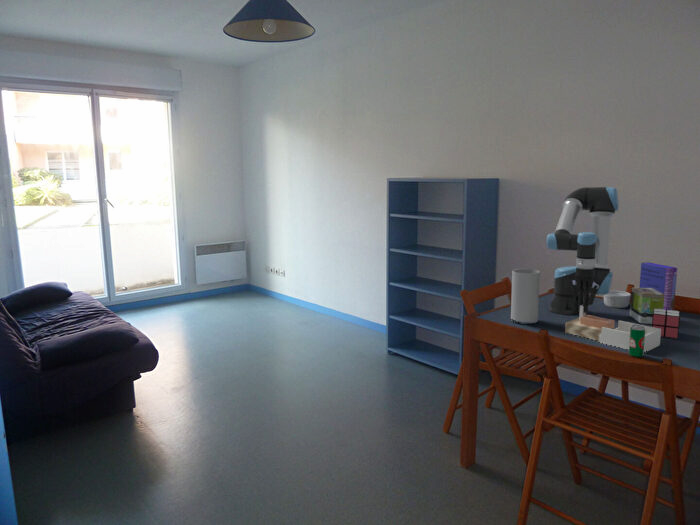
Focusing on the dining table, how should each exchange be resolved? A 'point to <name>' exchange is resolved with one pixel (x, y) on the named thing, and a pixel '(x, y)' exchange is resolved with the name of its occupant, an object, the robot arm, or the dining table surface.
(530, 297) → the cylinder vase
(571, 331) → the birch plate
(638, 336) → the soda can
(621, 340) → the box
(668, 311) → the puzzle cube
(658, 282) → the cereal box
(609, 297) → the ramekin
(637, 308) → the tea box
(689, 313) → the dining table surface
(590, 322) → the rear tile
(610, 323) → the front tile
